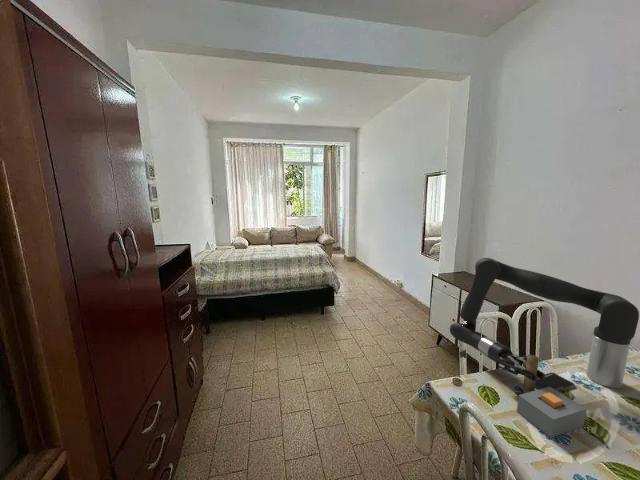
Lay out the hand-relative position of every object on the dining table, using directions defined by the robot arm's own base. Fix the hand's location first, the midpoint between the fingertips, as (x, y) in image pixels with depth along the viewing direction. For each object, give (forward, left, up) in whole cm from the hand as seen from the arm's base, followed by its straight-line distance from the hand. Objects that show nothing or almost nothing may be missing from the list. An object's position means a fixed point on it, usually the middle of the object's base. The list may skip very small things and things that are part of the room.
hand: (539, 377), depth 89 cm
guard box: (+5, +7, -8) cm, 12 cm away
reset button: (+5, +7, -5) cm, 10 cm away
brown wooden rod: (0, -3, -8) cm, 8 cm away
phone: (-13, -4, -9) cm, 16 cm away
